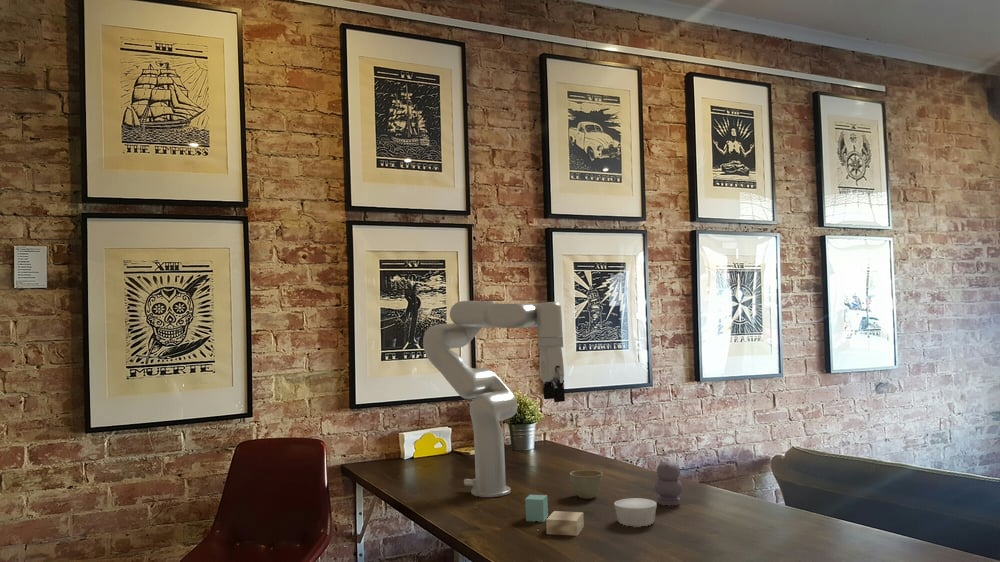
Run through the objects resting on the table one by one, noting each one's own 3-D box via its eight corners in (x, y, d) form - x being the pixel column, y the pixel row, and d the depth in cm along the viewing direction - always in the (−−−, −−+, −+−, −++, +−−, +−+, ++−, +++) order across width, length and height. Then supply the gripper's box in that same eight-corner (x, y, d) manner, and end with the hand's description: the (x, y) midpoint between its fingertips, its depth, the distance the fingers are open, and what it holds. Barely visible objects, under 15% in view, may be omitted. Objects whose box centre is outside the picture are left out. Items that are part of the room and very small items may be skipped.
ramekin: (612, 517, 203) (611, 498, 203) (653, 516, 203) (652, 496, 203) (617, 529, 192) (616, 509, 192) (661, 528, 192) (660, 507, 192)
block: (526, 521, 203) (525, 499, 203) (530, 516, 208) (529, 494, 208) (543, 522, 201) (542, 499, 202) (548, 516, 206) (547, 495, 206)
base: (546, 534, 190) (546, 519, 191) (554, 526, 198) (553, 511, 198) (577, 536, 188) (576, 520, 188) (583, 527, 195) (583, 512, 196)
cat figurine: (687, 506, 211) (685, 463, 212) (660, 507, 211) (658, 465, 211) (678, 498, 220) (676, 458, 220) (652, 500, 219) (650, 459, 220)
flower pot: (602, 501, 221) (601, 476, 221) (569, 500, 223) (568, 476, 223) (604, 492, 230) (603, 469, 231) (572, 492, 232) (571, 469, 233)
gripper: (530, 343, 230) (533, 398, 229) (547, 344, 214) (551, 404, 213) (553, 342, 232) (556, 396, 231) (572, 342, 216) (576, 401, 215)
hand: (554, 400), depth 222 cm, fingers open, 9 cm apart
